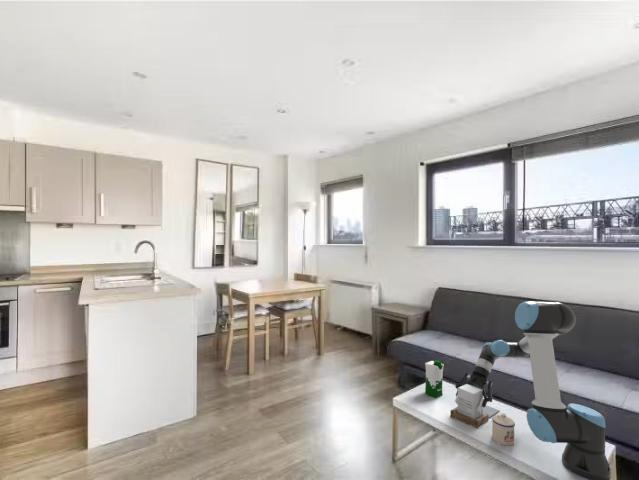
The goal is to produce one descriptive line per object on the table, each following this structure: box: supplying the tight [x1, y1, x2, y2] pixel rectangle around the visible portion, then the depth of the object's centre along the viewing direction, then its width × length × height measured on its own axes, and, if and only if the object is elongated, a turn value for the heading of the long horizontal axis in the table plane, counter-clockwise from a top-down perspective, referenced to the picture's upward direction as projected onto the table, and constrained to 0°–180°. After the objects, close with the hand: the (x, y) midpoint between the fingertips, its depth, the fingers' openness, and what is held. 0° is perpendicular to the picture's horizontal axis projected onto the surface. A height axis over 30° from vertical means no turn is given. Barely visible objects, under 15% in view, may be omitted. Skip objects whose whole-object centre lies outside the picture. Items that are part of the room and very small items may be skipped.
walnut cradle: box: [450, 406, 489, 429], centre depth 167 cm, size 12×13×3 cm
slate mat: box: [483, 404, 501, 419], centre depth 176 cm, size 12×12×1 cm
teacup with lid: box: [491, 412, 516, 447], centre depth 149 cm, size 12×9×12 cm
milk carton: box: [424, 359, 445, 399], centre depth 194 cm, size 9×9×20 cm
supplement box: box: [457, 384, 484, 420], centre depth 168 cm, size 9×9×15 cm
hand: (467, 407), depth 166 cm, fingers open, 11 cm apart
